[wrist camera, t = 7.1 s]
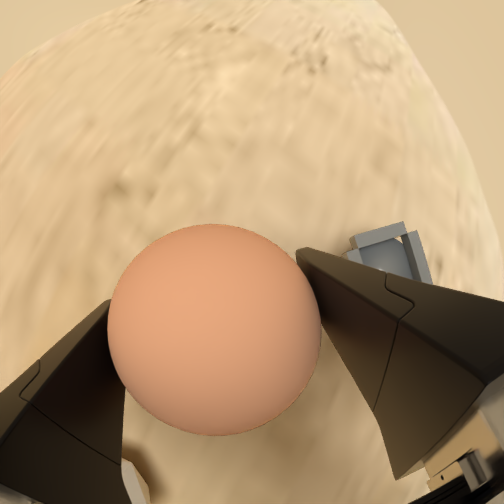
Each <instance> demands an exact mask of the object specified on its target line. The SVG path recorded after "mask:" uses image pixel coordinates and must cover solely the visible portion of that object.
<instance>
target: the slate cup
mask: <svg viewBox="0 0 504 504" xmlns="http://www.w3.org/2000/svg"><path fill="white" fill-rule="evenodd" d="M398 237H401V239H402V242H403V244H402V243H401V242H399V241H398V240H396V239H394V238H398ZM350 243H351V246H352V249H353V250H351V251H348V252H345V253H344V254H342V257H343V258H344V259H348V260H351V261H354V262H357V263H360V264H363V265H366V266H370V267H373V268H376V269H379V270H382V271H385V272H386V273H387V272H390V273H393V274H396V275H399V276H402V277H405V278H409V279H412V280H416V281H420V282H424V283H428V284H433V282H432V278H431V275H430V271H429V268H428V264H427V261H426V257H425V254H424V251H423V247H422V244H421V241H420V238H419V235H418V232H417V230H416V231H413V232H410V233H407V231H406V228H405V225H404V222H403V221H402V222H399V223H395V224H392V225H389V226H385V227H382V228H378V229H375V230H372V231H368V232H365V233H361V234H358V235H354V236H353V237H351V238H350Z"/></svg>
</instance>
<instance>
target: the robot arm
mask: <svg viewBox="0 0 504 504" xmlns="http://www.w3.org/2000/svg"><path fill="white" fill-rule="evenodd" d="M296 260H297V265H298V266H299V267H300V269H301V270H302V272H303V273H304V275H305V276H306V278H307V280H308V282H309V284H310V286H311V288H312V290H313V292H314V295H315V298H316V301H317V304H318V308H319V313H320V319H321V324H322V326H323V328H324V329H325V331H326V333H327V334H328V336H329V338H330V339H331V341H332V343H333V345H334V346H335V348H336V350H337V351H338V353H339V355H340V356H341V358H342V360H343V362H344V363H345V365H346V367H347V369H348V370H349V372H350V374H351V375H352V377H353V379H354V381H355V382H356V384H357V386H358V388H359V389H360V391H361V393H362V395H363V396H364V398H365V400H366V402H367V403H368V405H369V407H370V409H371V410H372V412H373V414H374V416H375V418H376V420H377V422H378V424H379V427H380V430H381V433H382V436H383V440H384V443H385V447H386V450H387V454H388V457H389V461H390V464H391V468H392V472H393V475H394V478H395V480H399V479H401V478H403V477H405V476H407V475H409V474H411V473H413V472H415V471H417V470H419V469H421V468H423V467H425V469H426V471H427V473H428V476H429V478H430V480H428V481H427V484H428V487H429V489H430V491H431V492H430V493H428V494H426V495H424V496H422V497H420V498H418V499H416V500H414V501H412V502H410V503H408V504H504V302H502V301H498V300H494V299H490V298H486V297H482V296H478V295H474V294H470V293H465V292H461V291H457V290H453V289H449V288H445V287H440V286H436V285H432V284H428V283H424V282H420V281H416V280H412V279H409V278H405V277H402V276H399V275H396V274H393V273H390V272H387V273H386V272H385V271H382V270H379V269H376V268H373V267H370V266H366V265H363V264H360V263H357V262H354V261H351V260H348V259H344V258H341V257H338V256H335V255H332V254H328V253H325V252H322V251H319V250H315V249H312V248H309V247H305V248H301V249H298V250H296ZM111 300H112V299H109V300H106V301H104V302H103V303H102V304H101V305H100V306H98V307H97V308H96V309H95V310H94V311H93V312H91V313H90V314H89V315H88V316H87V317H86V318H84V319H83V320H82V321H81V322H80V323H79V324H78V325H76V326H75V327H74V328H73V329H72V330H71V331H70V332H68V333H67V334H66V335H65V336H64V337H63V338H62V339H61V340H59V341H58V342H57V343H56V344H55V345H54V346H53V347H52V348H51V349H50V350H48V351H47V352H46V353H45V354H44V355H43V356H42V357H41V358H40V359H38V360H37V361H36V362H35V363H34V364H33V365H32V366H30V367H29V368H28V369H27V370H26V371H25V372H24V373H23V374H22V375H20V376H19V377H18V378H17V379H16V380H15V381H14V382H12V383H11V384H10V385H9V386H8V387H7V388H5V389H4V390H3V391H2V392H1V393H0V504H132V502H131V500H130V497H129V495H128V492H127V490H126V487H125V485H124V481H123V478H122V467H121V465H122V434H123V415H124V401H125V389H126V387H125V386H124V384H123V383H122V381H121V379H120V377H119V375H118V373H117V371H116V369H115V366H114V363H113V360H112V357H111V353H110V348H109V343H108V331H107V329H108V314H109V308H110V303H111Z"/></svg>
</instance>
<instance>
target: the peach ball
mask: <svg viewBox="0 0 504 504" xmlns="http://www.w3.org/2000/svg"><path fill="white" fill-rule="evenodd" d="M107 331H108V343H109V348H110V353H111V357H112V360H113V363H114V366H115V369H116V371H117V373H118V375H119V377H120V379H121V381H122V383H123V384H124V386H125V387H126V389H127V390H128V392H129V393H130V394H131V395H132V397H133V398H134V399H135V400H136V401H137V402H138V403H139V404H140V405H141V406H142V407H143V408H144V409H145V410H146V411H148V412H149V413H150V414H152V415H153V416H155V417H156V418H157V419H159V420H161V421H163V422H165V423H166V424H168V425H170V426H173V427H175V428H178V429H180V430H183V431H187V432H191V433H195V434H201V435H210V436H222V435H231V434H238V433H242V432H245V431H249V430H252V429H254V428H257V427H259V426H261V425H264V424H266V423H267V422H269V421H271V420H272V419H274V418H275V417H277V416H278V415H280V414H281V413H282V412H283V411H284V410H286V409H287V408H288V407H289V406H290V405H291V404H292V403H293V402H294V401H295V400H296V399H297V398H298V397H299V395H300V394H301V392H302V391H303V390H304V388H305V387H306V385H307V383H308V381H309V380H310V378H311V376H312V374H313V371H314V368H315V366H316V363H317V360H318V355H319V351H320V345H321V319H320V313H319V308H318V304H317V301H316V298H315V295H314V292H313V290H312V288H311V286H310V284H309V282H308V280H307V278H306V276H305V275H304V273H303V272H302V270H301V269H300V267H299V266H298V265H297V264H296V263H295V262H294V260H293V259H292V258H291V257H290V256H289V255H288V254H287V253H286V252H284V251H283V250H282V249H281V248H280V247H279V246H277V245H276V244H274V243H273V242H271V241H270V240H268V239H266V238H265V237H263V236H260V235H258V234H256V233H254V232H252V231H249V230H246V229H243V228H239V227H234V226H229V225H219V224H206V225H196V226H191V227H187V228H183V229H180V230H177V231H174V232H171V233H169V234H167V235H165V236H163V237H162V238H160V239H158V240H156V241H155V242H153V243H152V244H150V245H149V246H148V247H146V248H145V249H144V250H143V251H142V252H141V253H139V254H138V255H137V256H136V257H135V258H134V260H133V261H132V262H131V263H130V264H129V266H128V267H127V268H126V270H125V271H124V273H123V274H122V276H121V278H120V280H119V282H118V284H117V286H116V288H115V290H114V293H113V297H112V300H111V303H110V308H109V314H108V329H107Z"/></svg>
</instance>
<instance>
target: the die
mask: <svg viewBox="0 0 504 504" xmlns="http://www.w3.org/2000/svg"><path fill="white" fill-rule="evenodd" d="M121 467H122V478H123V481H124V485H125V487H126V490H127V492H128V495H129V497H130V500H131V502H132V504H151V501H150V494H149V487H148V485H147V484H146V482H145V481H144V479H143V478H142V477H141V475H140V474H139V472H138V471H137V469H136V468H135V466H134V465H133V463H132V462H130V461H127V460H125V459H123V458H122V465H121Z"/></svg>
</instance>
